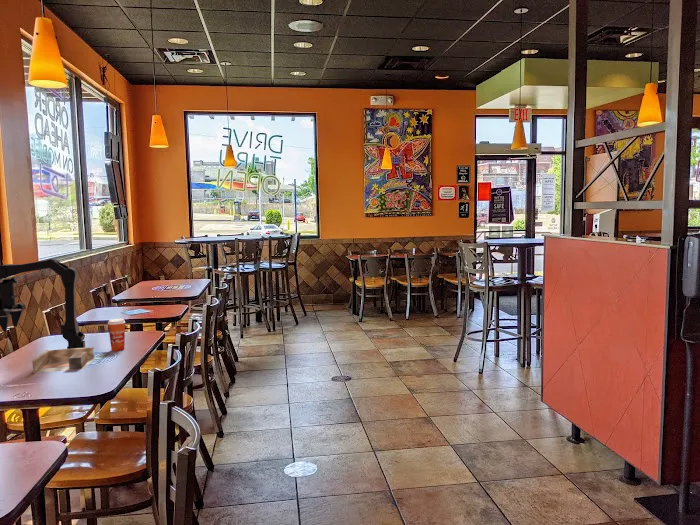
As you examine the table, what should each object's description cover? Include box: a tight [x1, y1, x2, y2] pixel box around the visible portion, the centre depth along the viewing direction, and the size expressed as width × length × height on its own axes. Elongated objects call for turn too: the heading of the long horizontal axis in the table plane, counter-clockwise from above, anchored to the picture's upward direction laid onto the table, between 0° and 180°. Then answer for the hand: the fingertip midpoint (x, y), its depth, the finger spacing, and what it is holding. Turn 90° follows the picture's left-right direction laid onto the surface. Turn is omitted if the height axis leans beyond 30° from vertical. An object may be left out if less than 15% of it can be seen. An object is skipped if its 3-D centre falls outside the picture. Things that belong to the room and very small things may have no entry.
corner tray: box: [31, 346, 95, 374], centre depth 222 cm, size 19×17×6 cm
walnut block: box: [69, 352, 88, 370], centre depth 221 cm, size 5×10×5 cm, turn 13°
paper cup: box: [107, 318, 126, 352], centre depth 248 cm, size 8×8×14 cm
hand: (10, 329), depth 231 cm, fingers open, 9 cm apart
